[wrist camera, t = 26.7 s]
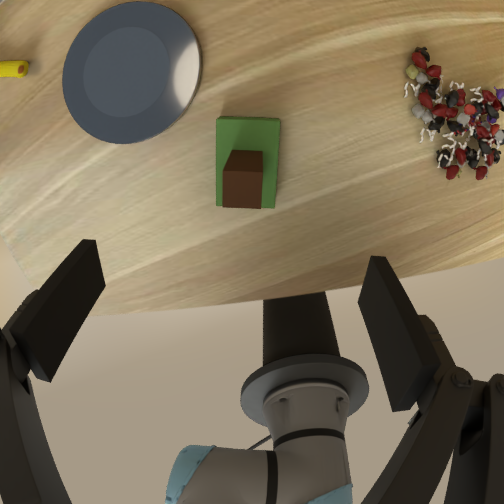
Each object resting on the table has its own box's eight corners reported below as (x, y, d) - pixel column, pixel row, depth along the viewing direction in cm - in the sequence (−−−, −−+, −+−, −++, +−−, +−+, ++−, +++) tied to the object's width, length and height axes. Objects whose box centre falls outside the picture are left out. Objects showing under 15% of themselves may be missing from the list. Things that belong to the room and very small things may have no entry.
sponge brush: (273, 200, 35) (277, 244, 26) (219, 197, 35) (204, 240, 26) (278, 118, 30) (286, 133, 21) (219, 116, 30) (201, 130, 21)
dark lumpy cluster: (506, 76, 24) (527, 79, 20) (491, 181, 31) (509, 195, 27) (399, 43, 25) (413, 39, 22) (390, 164, 33) (401, 176, 29)
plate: (200, 140, 31) (198, 143, 30) (71, 146, 31) (65, 148, 30) (206, -4, 23) (203, -7, 22) (69, 18, 23) (64, 17, 22)
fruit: (-10, 76, 25) (-35, 81, 21) (-8, 61, 24) (-32, 65, 20) (40, 76, 27) (14, 79, 22) (43, 59, 26) (17, 61, 21)
